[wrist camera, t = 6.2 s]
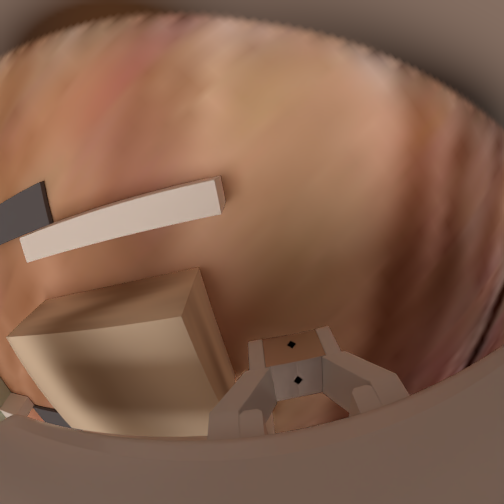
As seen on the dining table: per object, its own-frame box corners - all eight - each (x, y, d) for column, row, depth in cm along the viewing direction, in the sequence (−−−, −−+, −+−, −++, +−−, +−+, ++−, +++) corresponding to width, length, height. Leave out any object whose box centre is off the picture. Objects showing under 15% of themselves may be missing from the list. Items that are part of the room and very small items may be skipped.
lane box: (220, 175, 10) (208, 184, 6) (272, 411, 14) (279, 467, 10) (-55, 272, 10) (-84, 291, 6) (11, 398, 14) (-6, 425, 11)
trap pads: (43, 181, 9) (39, 182, 9) (159, 436, 15) (159, 439, 14) (-49, 238, 9) (-51, 239, 9) (46, 420, 15) (45, 422, 15)
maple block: (199, 264, 11) (181, 315, 7) (234, 370, 13) (234, 433, 9) (48, 297, 11) (6, 337, 8) (95, 381, 13) (71, 428, 10)
